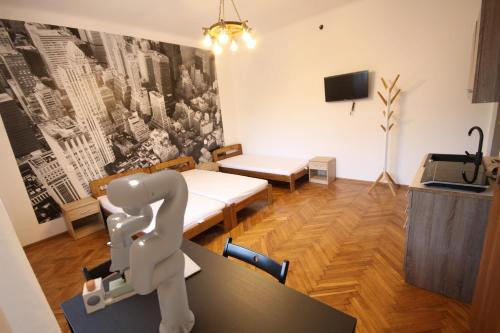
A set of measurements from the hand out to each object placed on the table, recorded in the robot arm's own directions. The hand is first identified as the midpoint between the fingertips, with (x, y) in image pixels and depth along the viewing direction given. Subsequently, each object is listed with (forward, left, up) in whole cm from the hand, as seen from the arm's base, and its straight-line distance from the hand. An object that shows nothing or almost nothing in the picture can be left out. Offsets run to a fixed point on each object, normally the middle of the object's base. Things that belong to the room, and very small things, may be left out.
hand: (129, 277), depth 102 cm
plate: (+1, -20, -7) cm, 21 cm away
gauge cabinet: (0, +14, -7) cm, 15 cm away
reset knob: (-2, +14, +3) cm, 14 cm away
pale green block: (0, +2, -7) cm, 7 cm away
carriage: (0, +3, -5) cm, 6 cm away
